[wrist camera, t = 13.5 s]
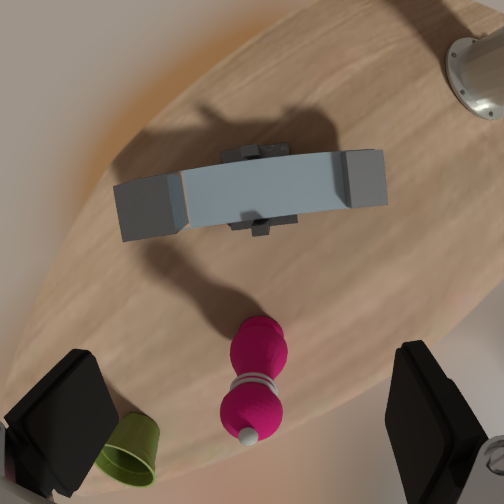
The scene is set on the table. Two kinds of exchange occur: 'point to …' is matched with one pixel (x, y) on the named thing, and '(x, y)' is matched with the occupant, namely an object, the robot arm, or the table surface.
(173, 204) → the iron block
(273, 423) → the pepper mill
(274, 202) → the beam
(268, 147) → the stand
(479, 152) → the table surface
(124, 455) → the plant pot
